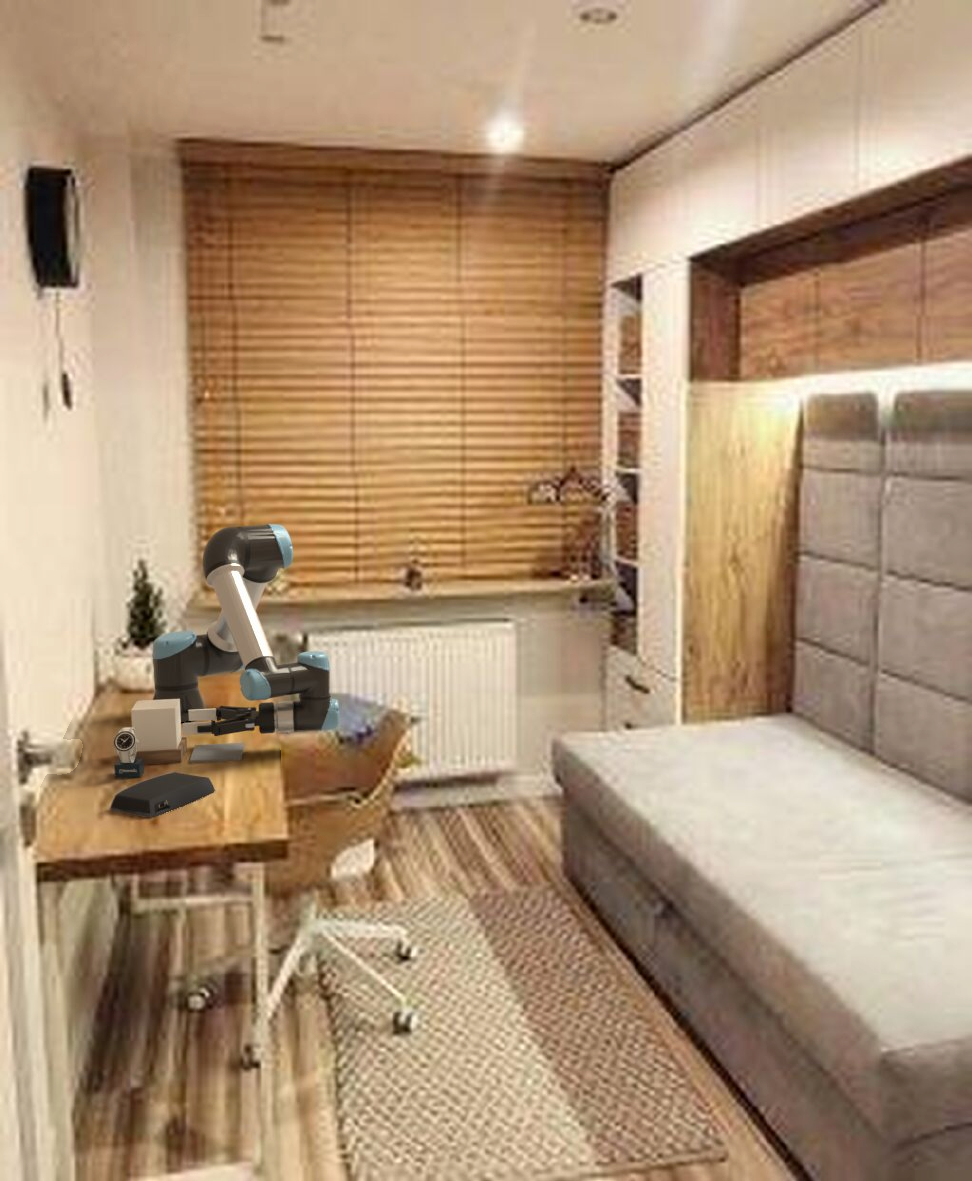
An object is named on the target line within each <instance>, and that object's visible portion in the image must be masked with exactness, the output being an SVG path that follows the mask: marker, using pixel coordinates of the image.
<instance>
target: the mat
mask: <svg viewBox="0 0 972 1181" xmlns="http://www.w3.org/2000/svg"><path fill="white" fill-rule="evenodd" d="M245 745H246V744H245V742H228V743H226V742H224V743H211V744H210V743H206V744H195V746H194V747H193V750H192V753H191V756H190V758H189V764H195V763H196V764H197V763H212V762H214V763H216V762H232V761H234V762H235V761H242V758H243V754H244V750H245Z"/></svg>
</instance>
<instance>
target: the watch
mask: <svg viewBox="0 0 972 1181" xmlns="http://www.w3.org/2000/svg"><path fill="white" fill-rule="evenodd" d="M137 743H138V740H136V733H135V729H134V727H132V726H131V727H122V728H121V729H120V730H119V731H118V732H117V734H116V735H115V736H114V739H113V746H114V749H115V750H116V754H117V756H119V759H118V760H117V761H116V763H114V766H113V767H114V779H131V778H132V779H134V778H137V779H138V778H141V777H142V776H143V774H144V773H145V764H144V761H143V759H135V756H136V752H137Z"/></svg>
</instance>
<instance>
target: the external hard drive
mask: <svg viewBox="0 0 972 1181" xmlns="http://www.w3.org/2000/svg"><path fill="white" fill-rule="evenodd" d="M214 791H215V792H216V789H215V786H214V785H213V782H212V781H211V779H210V777H207V776H200V775H193V774H188V773H182V772H177V771H172V772H168V773H164V774H160V775H155V776H153V777H151V778H148V779H145V780H142V781H139V782H137V783H135V784H133V785H130V786H128V787H126V788H124V789H122V790H120V791H119V792H117V793H116V794H115V795H114V797H113V799H112V802H111V804H110V807H109V811H111V810H112V811H111V812H116V813H123V814H127V815H133V816H138V817H143V818H149V819H152V818H156V817H160V816H162V815H165V814H167V813H166V812H168V813H170V812H172V811H171V810H173V811H175V810H174V809H176V810H178V809H180V808H179V807H181V808H183V807H186V806H187V804H188V805H190V804H192V803H194V801H195V802H197V801H199V800H201V799H203V798H206V797H208V796H209V794H210V795H211V793H212V794H213V793H215V792H214ZM207 795H208V796H207ZM202 797H203V798H202ZM200 798H201V799H200ZM198 799H199V800H198ZM196 800H197V801H196ZM191 802H192V803H191ZM189 803H190V804H189ZM185 805H186V806H185ZM177 808H178V809H177ZM169 811H170V812H169ZM164 813H165V814H164ZM159 815H160V816H159Z"/></svg>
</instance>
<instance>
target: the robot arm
mask: <svg viewBox="0 0 972 1181" xmlns="http://www.w3.org/2000/svg"><path fill="white" fill-rule="evenodd" d="M202 553H203V554H202V563H201V564H202V572H203V576H204V579H205V582H206V583H207V585H208V586H209V587H211V588H213V590H214V593H215V595H216V598H217V601H218V603H219V606H220V608H221V611H220V613H219V616H218V618H217V620H215V621H213V622H212V623H211V624H210V625H209V627H208V629H207V632H206V633H203V634H196V632H195V631H193V630H182V631H173V632H170V633H165V634H163V635H160V636H158V637H157V638H155V639H154V641H153V642H152V654H151V657H152V663H153V681H154V694H153V696H152V700H164V699H180V715H181V722H184V723H182V736H189V735H191V736H194V735H209V734H210V735H211V734H212V735H213V736H214V737H219V736H226V735H230V734H235V733H240V732H251V731H255V727H258V729H259V730H258V731H259V733H260V734H263V735H264V734H274V733H276V731H277V733H285V734H286V735H290V734H291V733H293V732H322V731H328V730H335V729H338V728H339V725H340V705H339V701H338V699H336V698H332V697H331V693H330V689H331V687H330V684H331V682H330V672H331V669H330V660H329V656H328V654H327V652H324V651H319V650H312V651H309V650H308V651H304V652H300V653H299V654H298V655H297V661H296V662H292V663H291V662H290V663H286V664H278V663H277V661H276V659H275V656H274V654H273V651H272V648H271V646H270V644H269V643H270V642H269V641H268V638H267V635H266V633H265V630H264V628H263V625H262V622H261V620H260V618H259V615H258V613H257V608H258V605H259V603H260V601H261V598H262V595H263V593H264V592H265V588H266V586H267V584H268V583H271V582H272V581H274V579H275V578H276V576H277V575H278V572H279V570H280V569H284V570H285V569H287V568H290V566H291V565H292V563H293V558H294V547H293V543H292V538H291V536H290V534H289V532H288V531H287V529H286V528H285V527H284V526H283V525H280V524H276V523H275V524H272V523H271V524H270V523H265V524H254V525H242V526H241V525H240V526H227V527H223V528H221V529H219V530H217V531H216V532H215V533H214V534H213V535H212V536H211V537H210V538H209V540H208V541H207V542H206V544H205V547H204V549H203V552H202ZM243 670H244V671H243ZM240 671H242V672H241V674H240V676H239V685H240V692H241V694H242V696H243V697H244V698H245V700H248V701H251V702H252V701H267V700H269V699H272V698H273V699H274V698H278V697H285V696H292V695H298V698H299V700H294V701H293V700H289V701H288V700H284V701H277V702H276V703H275V702H273V701H269V702H260V703H259V704H258V710H257V707H255V706H252V707H248V706H247V707H246V706H245V707H244V706H230V705H229V706H227V705H220V706H219V707H216V708H207V707H206V705H205V702H204V700H203V697H202V694H201V691H200V688H199V678H201V677H209V676H216V675H223V674H225V675H226V674H232V673H236V672H240ZM186 721H191V722H186ZM198 721H199V722H198Z"/></svg>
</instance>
